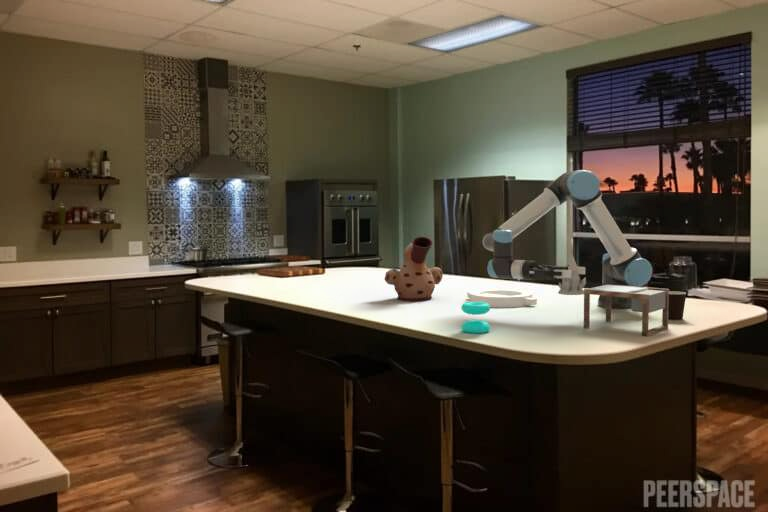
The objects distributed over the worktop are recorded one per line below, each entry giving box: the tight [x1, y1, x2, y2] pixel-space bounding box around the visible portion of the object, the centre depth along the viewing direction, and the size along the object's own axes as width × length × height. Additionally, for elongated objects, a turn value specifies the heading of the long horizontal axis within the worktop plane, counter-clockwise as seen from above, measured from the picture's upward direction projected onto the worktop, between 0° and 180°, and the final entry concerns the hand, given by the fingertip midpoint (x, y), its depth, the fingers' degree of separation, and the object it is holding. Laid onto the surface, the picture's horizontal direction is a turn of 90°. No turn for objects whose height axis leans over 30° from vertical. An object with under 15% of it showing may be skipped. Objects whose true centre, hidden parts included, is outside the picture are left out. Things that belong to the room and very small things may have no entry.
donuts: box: [460, 301, 491, 334], centre depth 229 cm, size 10×10×10 cm
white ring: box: [466, 288, 538, 308], centre depth 297 cm, size 28×28×5 cm
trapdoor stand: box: [583, 284, 670, 337], centre depth 231 cm, size 23×19×14 cm
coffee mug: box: [668, 290, 687, 321], centre depth 251 cm, size 12×9×10 cm
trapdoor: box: [588, 285, 665, 314], centre depth 231 cm, size 22×15×7 cm
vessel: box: [384, 236, 444, 302], centre depth 309 cm, size 29×22×30 cm
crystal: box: [557, 253, 587, 296], centre depth 244 cm, size 10×13×15 cm
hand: (578, 272), depth 242 cm, fingers closed on crystal, 12 cm apart
